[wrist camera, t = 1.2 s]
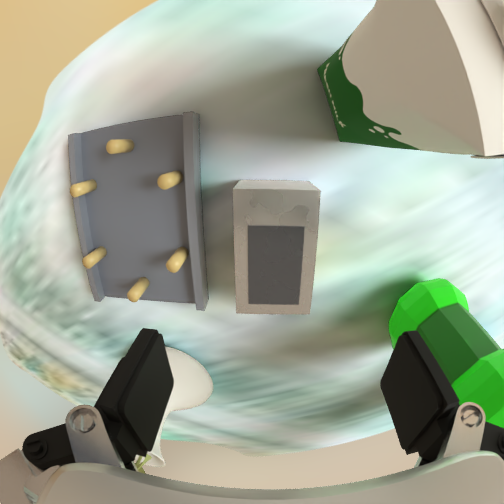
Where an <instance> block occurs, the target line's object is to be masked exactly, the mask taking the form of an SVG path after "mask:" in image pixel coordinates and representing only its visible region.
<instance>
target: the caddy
mask: <svg viewBox="0 0 504 504" xmlns="http://www.w3.org/2000/svg"><path fill="white" fill-rule="evenodd" d="M68 143H69V163H70V176H71V188H70V193H71V195H72V196H73V203H74V210H75V216H76V223H77V228H78V234H79V239H80V244H81V249H82V254H83V260H82V262H83V265H84V266H85V267H86V271H87V275H88V279H89V282H90V286H91V290H92V293H93V297H94V300H95V301H99V302H100V301H101V300H102V299H103V298H104V297H105V296H107V297H117V298H127V299H129V300H130V301H132V302H137V301H138V299H139V300H151V301H164V302H179V303H196V310H202V311H205V308H206V305H207V302H208V299H209V297H208V286H207V274H206V262H205V249H204V234H203V218H202V199H201V175H200V139H199V114H197V113H195V112H184V113H183V115H175V116H167V117H159V118H152V119H146V120H140V121H134V122H129V123H123V124H118V125H113V126H109V127H104V128H100V129H96V130H91V131H87V132H84V133H73V134H70V135H68Z"/></svg>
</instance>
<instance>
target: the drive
mask: <svg viewBox="0 0 504 504" xmlns="http://www.w3.org/2000/svg"><path fill="white" fill-rule="evenodd" d="M319 208H320V190H319V189H318V188H317V187H316V186H314V185H313V184H312V183H311V182H309V181H293V180H240V181H239V182H238V183H237V184H236V185H235V187H234V188H233V227H234V261H235V289H236V313H245V314H310V307H311V299H312V290H313V281H314V272H315V261H316V250H317V238H318V224H319Z"/></svg>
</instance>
